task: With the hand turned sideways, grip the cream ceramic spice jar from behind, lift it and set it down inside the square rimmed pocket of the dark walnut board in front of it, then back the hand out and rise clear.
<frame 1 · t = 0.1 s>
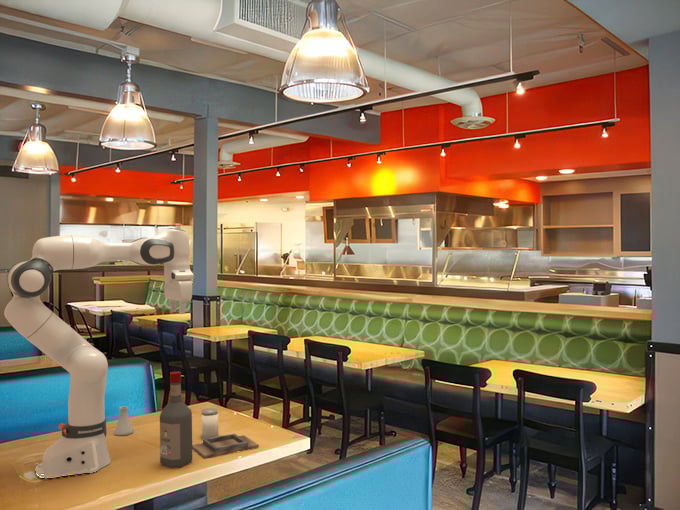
hand: (177, 312, 214), 48 cm above the table, tool pointing down, fingers open, 8 cm apart
liquor: (176, 463, 199), on the table
flask: (123, 433, 232), on the table
locating board: (225, 447, 214), on the table
spice jar: (210, 436, 226), on the table
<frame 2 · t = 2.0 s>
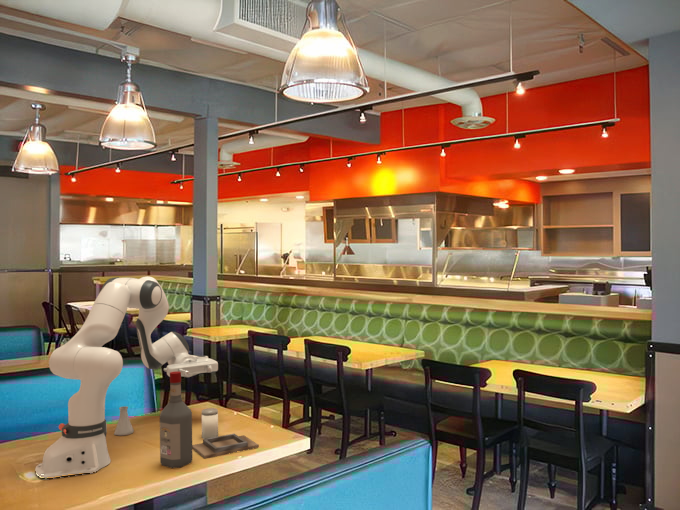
hand: (198, 371, 236), 22 cm above the table, tool horizontal, fingers open, 8 cm apart
nothing on the table moved.
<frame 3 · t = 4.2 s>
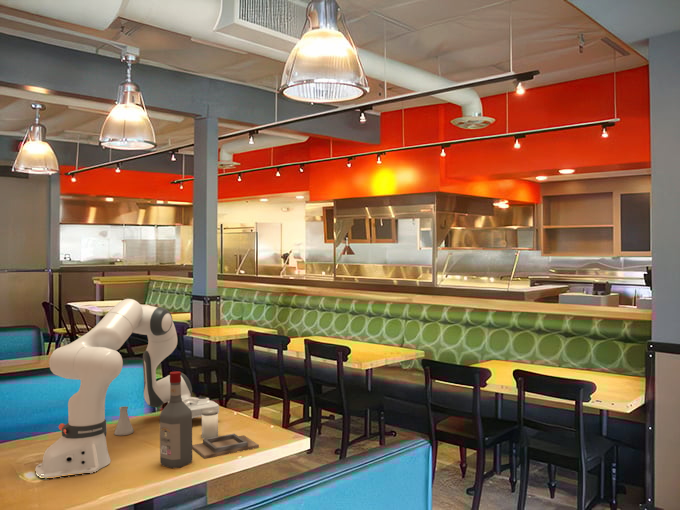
hand: (199, 415, 235), 5 cm above the table, tool horizontal, fingers open, 8 cm apart
nothing on the table moved.
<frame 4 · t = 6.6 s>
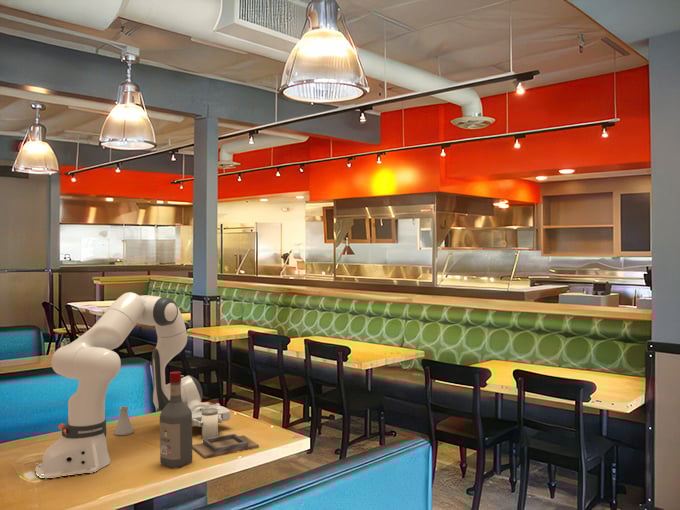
hand: (210, 422, 225), 6 cm above the table, tool horizontal, fingers closed on spice jar, 6 cm apart
spice jar: (210, 436, 226), on the table, touching gripper
everything else where it was.
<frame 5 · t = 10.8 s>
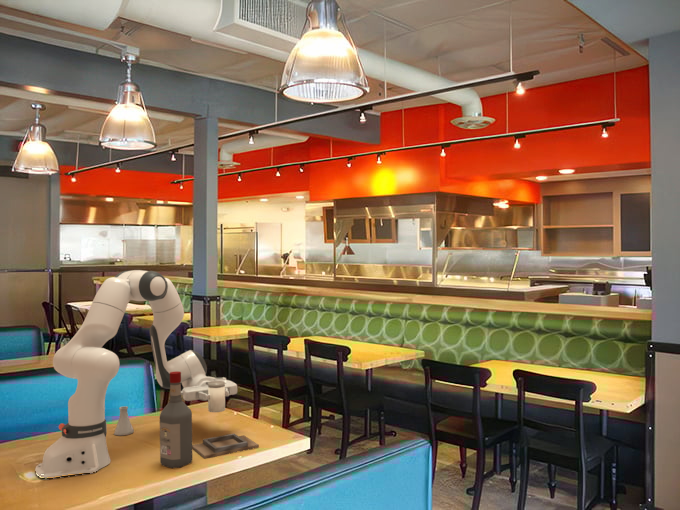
hand: (217, 395, 219), 17 cm above the table, tool horizontal, fingers closed on spice jar, 6 cm apart
spice jar: (216, 410, 220), point 12 cm above the table, touching gripper
everything else where it was.
when the fingers open (7 cm above the table, at t = 15.0 s): spice jar stays where it is, resting on locating board.
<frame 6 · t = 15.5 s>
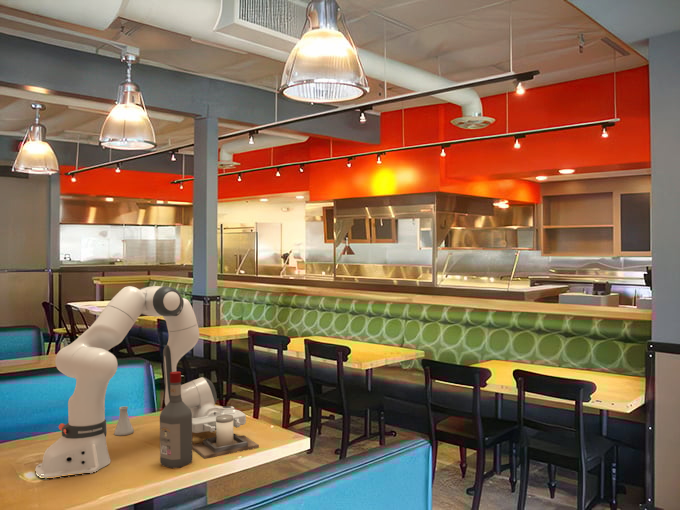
hand: (225, 427, 213), 7 cm above the table, tool horizontal, fingers open, 8 cm apart
spice jar: (225, 445, 214), point 1 cm above the table, touching locating board
everything else where it was.
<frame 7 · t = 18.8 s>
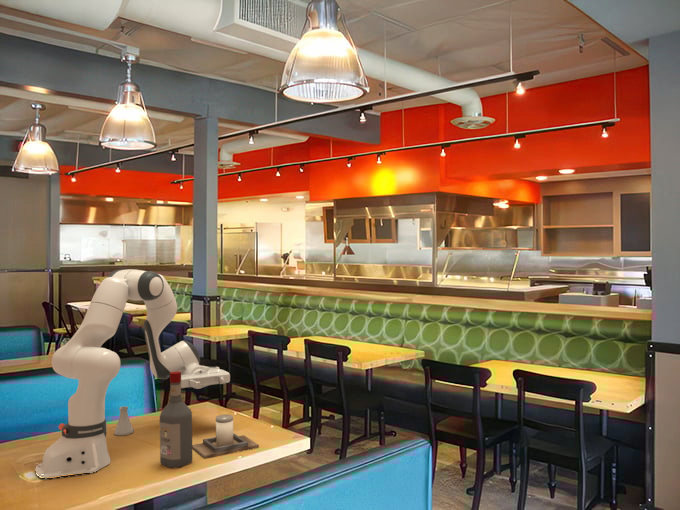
hand: (210, 383, 225), 21 cm above the table, tool horizontal, fingers open, 8 cm apart
nothing on the table moved.
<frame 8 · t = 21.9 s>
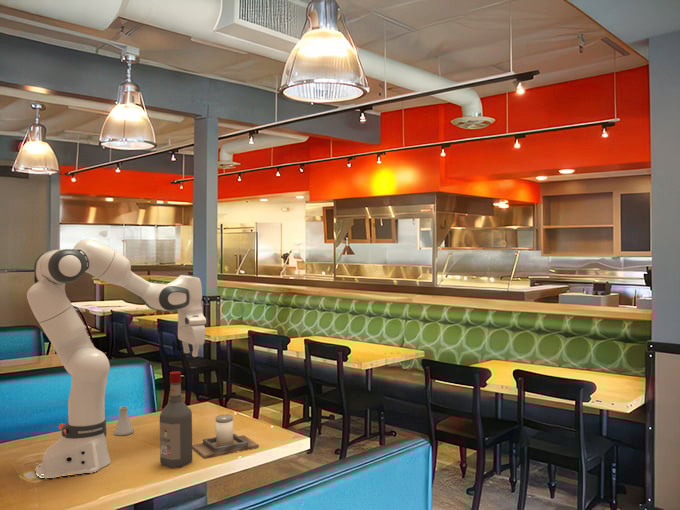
hand: (190, 354, 225), 31 cm above the table, tool pointing down, fingers open, 8 cm apart
nothing on the table moved.
at the end: spice jar 0.1 cm off-centre on the locating board, point 1.1 cm above the locating board's base; spice jar tilted 1°; the gripper is holding nothing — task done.
